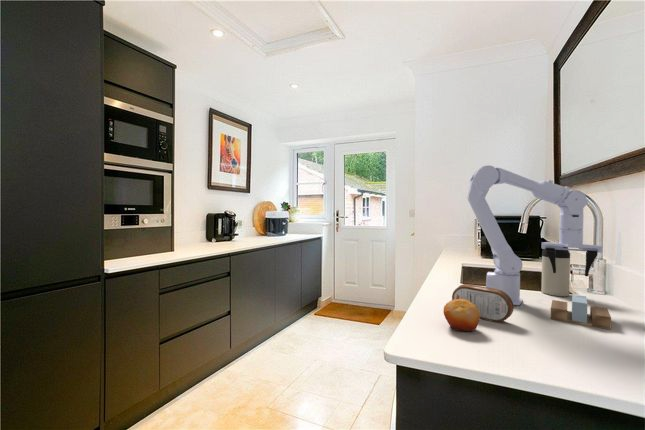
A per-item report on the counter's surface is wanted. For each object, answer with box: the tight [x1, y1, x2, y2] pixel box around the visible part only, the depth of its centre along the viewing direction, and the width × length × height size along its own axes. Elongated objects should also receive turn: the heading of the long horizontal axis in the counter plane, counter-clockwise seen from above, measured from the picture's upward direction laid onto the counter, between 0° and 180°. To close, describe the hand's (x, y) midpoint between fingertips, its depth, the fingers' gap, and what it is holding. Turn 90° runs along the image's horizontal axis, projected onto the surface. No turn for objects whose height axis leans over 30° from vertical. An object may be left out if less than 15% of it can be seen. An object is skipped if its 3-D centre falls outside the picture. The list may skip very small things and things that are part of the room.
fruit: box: [443, 299, 481, 332], centre depth 78 cm, size 8×8×8 cm
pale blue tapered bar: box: [571, 294, 588, 323], centre depth 85 cm, size 3×9×5 cm, turn 142°
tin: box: [451, 283, 515, 323], centre depth 86 cm, size 15×3×8 cm, turn 47°
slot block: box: [550, 299, 612, 330], centre depth 85 cm, size 12×10×3 cm
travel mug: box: [540, 241, 571, 297], centre depth 112 cm, size 8×8×18 cm
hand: (570, 274), depth 97 cm, fingers open, 7 cm apart
